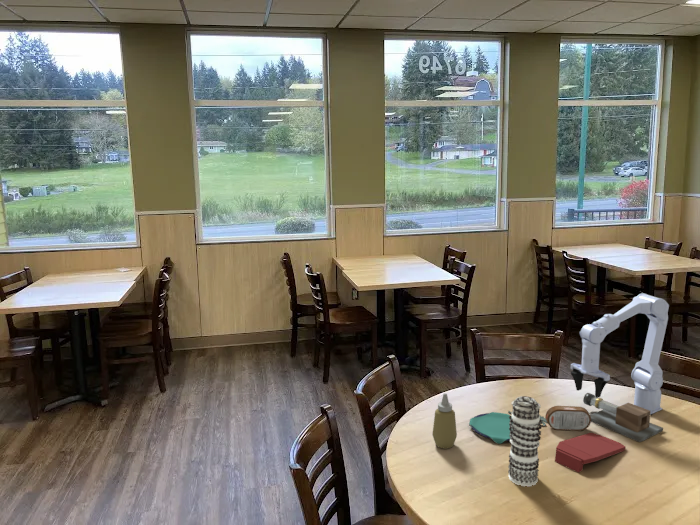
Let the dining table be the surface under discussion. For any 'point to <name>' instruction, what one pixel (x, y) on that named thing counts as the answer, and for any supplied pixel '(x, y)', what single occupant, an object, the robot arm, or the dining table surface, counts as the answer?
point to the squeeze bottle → (444, 424)
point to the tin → (568, 418)
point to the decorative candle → (524, 441)
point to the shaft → (599, 403)
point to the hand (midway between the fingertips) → (588, 393)
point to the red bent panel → (585, 450)
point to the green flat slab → (494, 426)
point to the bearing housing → (628, 422)
